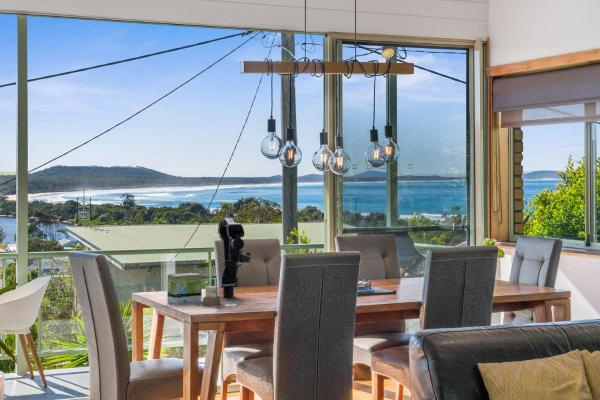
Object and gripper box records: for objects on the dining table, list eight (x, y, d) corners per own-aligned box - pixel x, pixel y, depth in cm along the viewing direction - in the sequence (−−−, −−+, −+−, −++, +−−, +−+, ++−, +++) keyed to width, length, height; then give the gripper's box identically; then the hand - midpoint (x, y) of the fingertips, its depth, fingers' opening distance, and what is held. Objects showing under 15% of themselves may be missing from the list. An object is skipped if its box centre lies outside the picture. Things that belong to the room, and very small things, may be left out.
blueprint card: (227, 304, 424) (227, 303, 424) (237, 304, 424) (237, 303, 424) (224, 306, 418) (224, 305, 418) (234, 306, 418) (234, 305, 418)
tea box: (176, 305, 428) (175, 275, 427) (167, 302, 436) (166, 274, 435) (202, 302, 436) (202, 273, 436) (192, 300, 445) (192, 272, 444)
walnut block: (206, 303, 428) (206, 295, 427) (220, 303, 427) (220, 295, 426) (203, 305, 421) (203, 297, 421) (216, 305, 420) (216, 297, 419)
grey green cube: (208, 295, 426) (208, 286, 426) (217, 296, 426) (217, 286, 425) (205, 297, 421) (205, 287, 421) (215, 297, 421) (215, 287, 420)
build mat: (202, 302, 436) (202, 301, 436) (243, 303, 432) (243, 301, 432) (193, 307, 420) (193, 305, 420) (236, 307, 417) (236, 306, 416)
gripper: (245, 250, 420) (245, 281, 420) (254, 246, 438) (254, 276, 438) (223, 249, 422) (224, 280, 422) (233, 246, 440) (234, 276, 441)
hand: (235, 278), depth 431 cm, fingers closed
